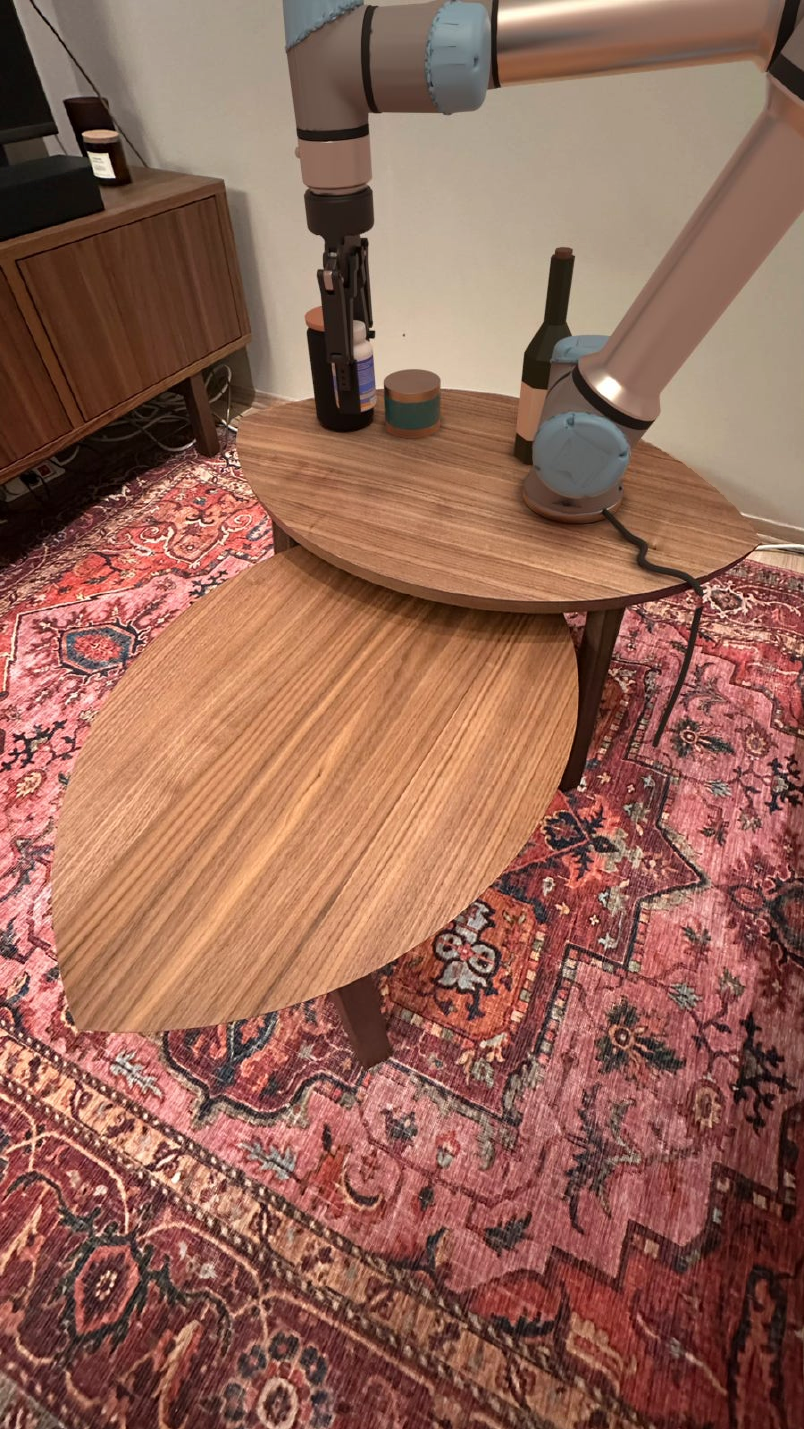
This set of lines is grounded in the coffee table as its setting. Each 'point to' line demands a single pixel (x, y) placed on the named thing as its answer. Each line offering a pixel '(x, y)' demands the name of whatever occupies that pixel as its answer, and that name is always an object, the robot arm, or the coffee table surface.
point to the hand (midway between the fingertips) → (356, 401)
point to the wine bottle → (543, 352)
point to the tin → (412, 403)
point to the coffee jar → (328, 381)
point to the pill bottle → (362, 367)
